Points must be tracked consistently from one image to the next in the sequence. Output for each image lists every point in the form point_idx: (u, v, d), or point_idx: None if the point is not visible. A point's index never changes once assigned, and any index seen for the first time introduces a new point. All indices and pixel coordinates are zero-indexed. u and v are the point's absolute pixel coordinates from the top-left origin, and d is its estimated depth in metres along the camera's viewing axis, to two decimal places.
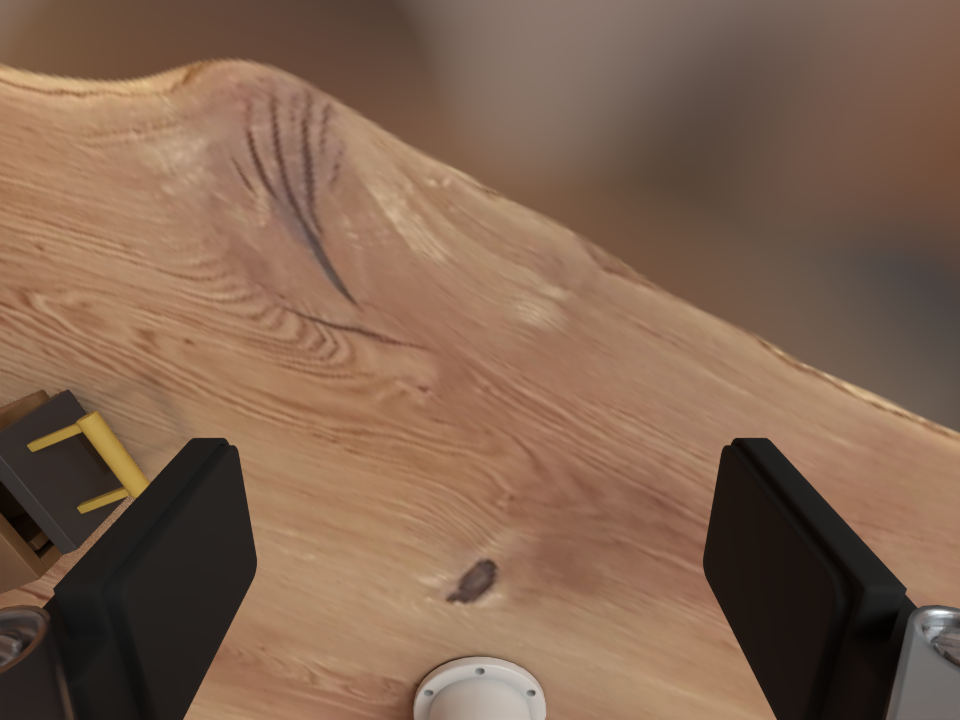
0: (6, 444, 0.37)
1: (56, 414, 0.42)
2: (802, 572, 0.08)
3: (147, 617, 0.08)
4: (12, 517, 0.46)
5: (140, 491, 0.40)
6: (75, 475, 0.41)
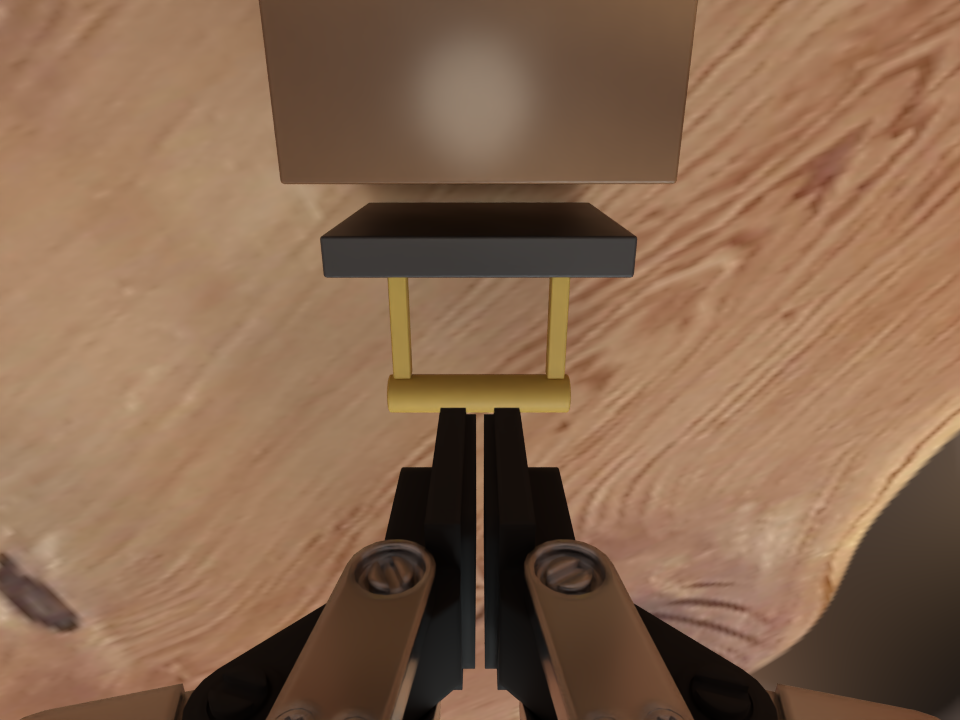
0: None
1: None
2: None
3: (474, 554, 0.09)
4: None
5: (396, 409, 0.20)
6: None
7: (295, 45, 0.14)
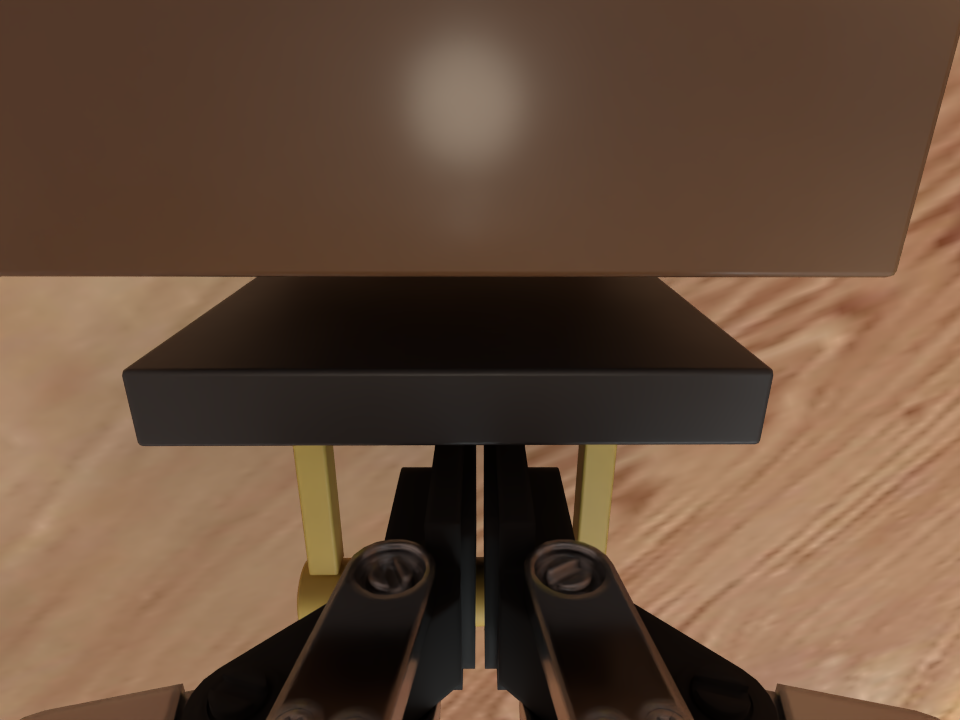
0: None
1: None
2: None
3: None
4: None
5: None
6: None
7: None
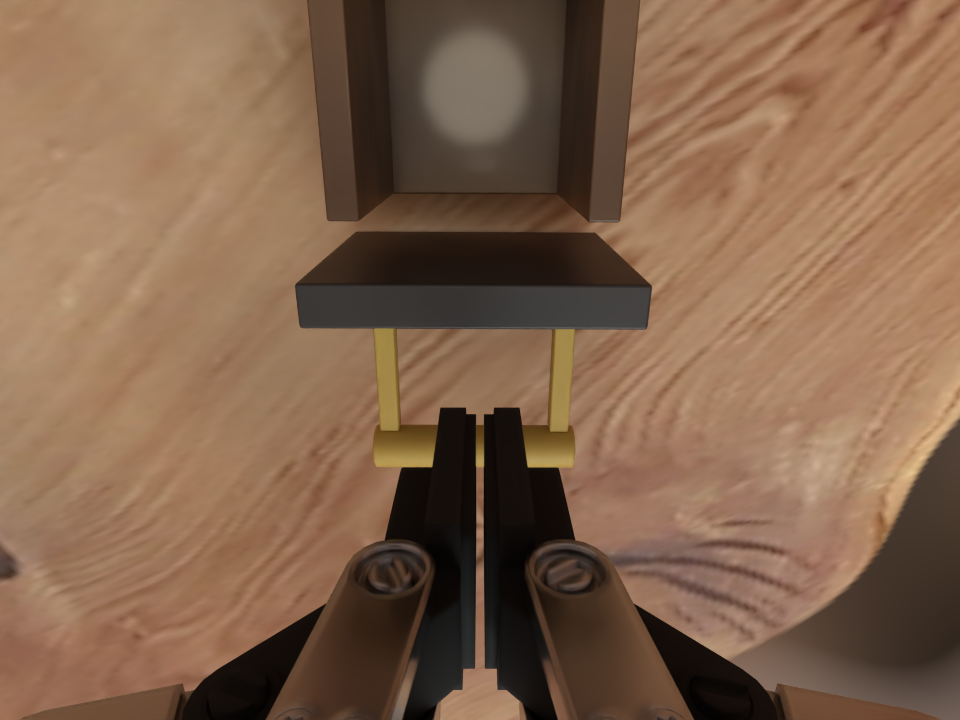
0: None
1: None
2: None
3: (474, 554, 0.09)
4: None
5: (383, 464, 0.19)
6: None
7: None
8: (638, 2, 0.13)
